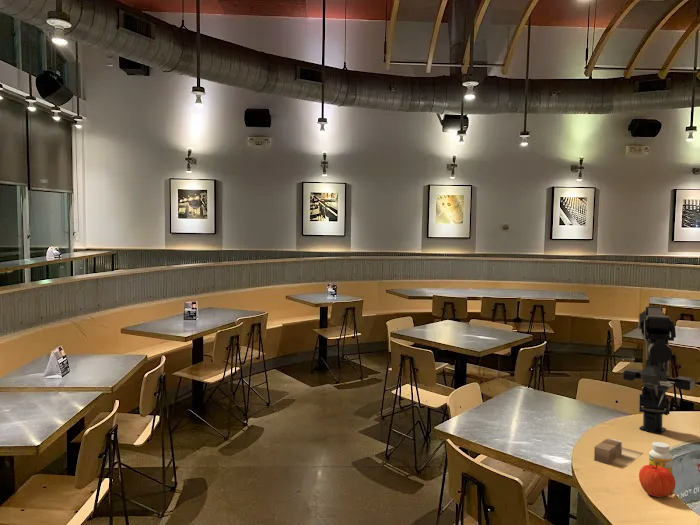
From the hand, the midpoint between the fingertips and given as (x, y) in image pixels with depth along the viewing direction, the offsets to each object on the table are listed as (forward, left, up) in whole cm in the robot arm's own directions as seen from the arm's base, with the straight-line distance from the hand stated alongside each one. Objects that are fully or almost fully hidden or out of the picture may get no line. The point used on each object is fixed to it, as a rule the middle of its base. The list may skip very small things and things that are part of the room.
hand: (657, 406), depth 161 cm
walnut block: (+15, -7, -11) cm, 20 cm away
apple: (+34, +10, -13) cm, 38 cm away
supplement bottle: (+24, +8, -13) cm, 28 cm away
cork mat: (+16, -5, -13) cm, 21 cm away
